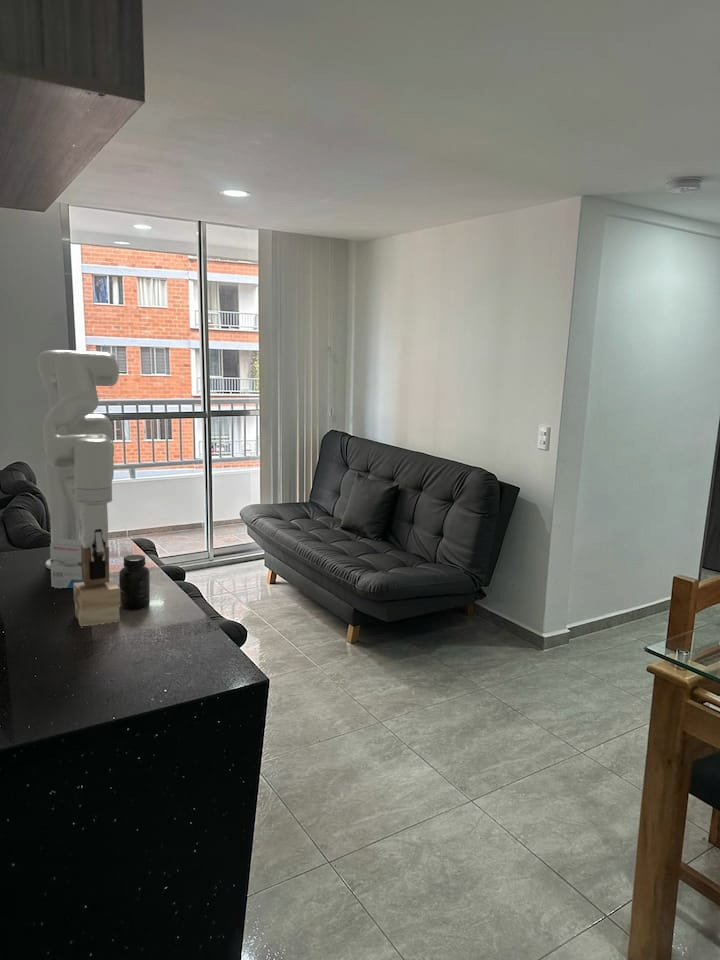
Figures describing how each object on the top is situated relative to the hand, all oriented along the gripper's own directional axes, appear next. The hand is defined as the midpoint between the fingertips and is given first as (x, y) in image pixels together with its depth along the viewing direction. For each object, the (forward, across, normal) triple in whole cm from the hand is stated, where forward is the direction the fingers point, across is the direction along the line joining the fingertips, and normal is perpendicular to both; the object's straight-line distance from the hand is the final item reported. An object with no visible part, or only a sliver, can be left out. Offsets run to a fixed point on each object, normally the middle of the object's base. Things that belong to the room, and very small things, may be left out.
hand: (95, 574), depth 145 cm
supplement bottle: (+11, -4, +9) cm, 15 cm away
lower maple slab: (+11, 0, 0) cm, 11 cm away
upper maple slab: (+7, 0, 0) cm, 7 cm away
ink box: (+11, -25, -2) cm, 27 cm away
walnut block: (+2, 0, 0) cm, 2 cm away
